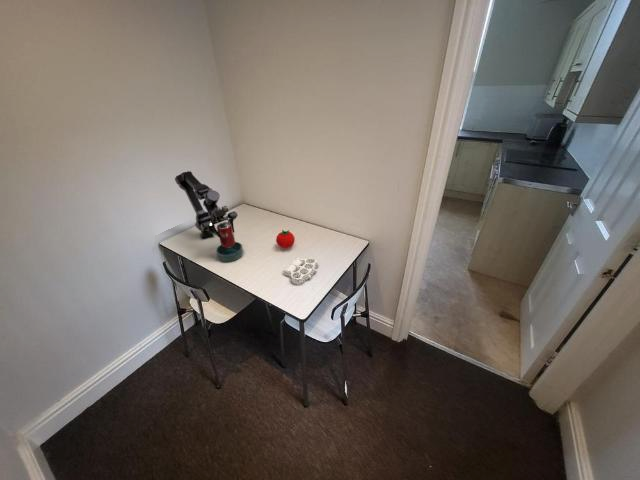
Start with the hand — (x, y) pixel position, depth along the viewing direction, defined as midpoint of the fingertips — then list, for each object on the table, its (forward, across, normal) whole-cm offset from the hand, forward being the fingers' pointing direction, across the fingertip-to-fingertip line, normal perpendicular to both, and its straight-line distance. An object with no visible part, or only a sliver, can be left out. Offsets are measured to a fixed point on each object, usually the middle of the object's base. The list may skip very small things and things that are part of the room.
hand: (227, 235), depth 132 cm
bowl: (+9, 0, +10) cm, 13 cm away
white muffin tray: (+36, +18, -17) cm, 43 cm away
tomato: (+19, +26, 0) cm, 33 cm away
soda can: (+4, 0, +6) cm, 7 cm away
